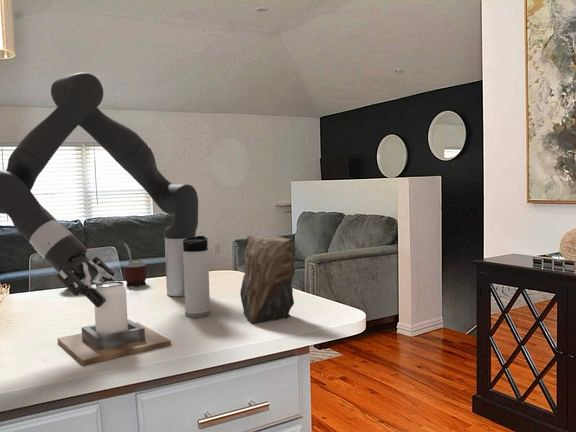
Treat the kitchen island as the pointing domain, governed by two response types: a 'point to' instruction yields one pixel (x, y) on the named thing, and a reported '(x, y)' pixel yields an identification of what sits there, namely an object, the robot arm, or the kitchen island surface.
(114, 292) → the can
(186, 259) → the travel mug
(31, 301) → the kitchen island surface
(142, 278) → the mate gourd
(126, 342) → the mount
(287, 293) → the brown rock
